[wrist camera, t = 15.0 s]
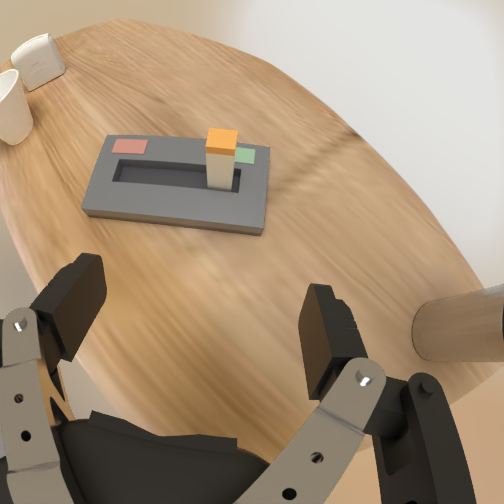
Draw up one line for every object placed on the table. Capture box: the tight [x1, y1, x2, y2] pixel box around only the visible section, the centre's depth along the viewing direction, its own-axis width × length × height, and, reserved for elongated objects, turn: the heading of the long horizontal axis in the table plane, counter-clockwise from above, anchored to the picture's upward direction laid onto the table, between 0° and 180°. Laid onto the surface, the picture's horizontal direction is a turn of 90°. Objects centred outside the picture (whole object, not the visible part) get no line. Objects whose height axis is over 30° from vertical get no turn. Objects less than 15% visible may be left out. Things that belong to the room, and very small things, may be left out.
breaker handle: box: [205, 128, 238, 192], centre depth 33 cm, size 3×2×10 cm
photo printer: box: [11, 33, 66, 91], centre depth 37 cm, size 10×4×12 cm, turn 112°
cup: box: [0, 69, 34, 146], centre depth 33 cm, size 12×12×12 cm
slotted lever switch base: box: [81, 135, 270, 236], centre depth 37 cm, size 24×12×3 cm, turn 85°
